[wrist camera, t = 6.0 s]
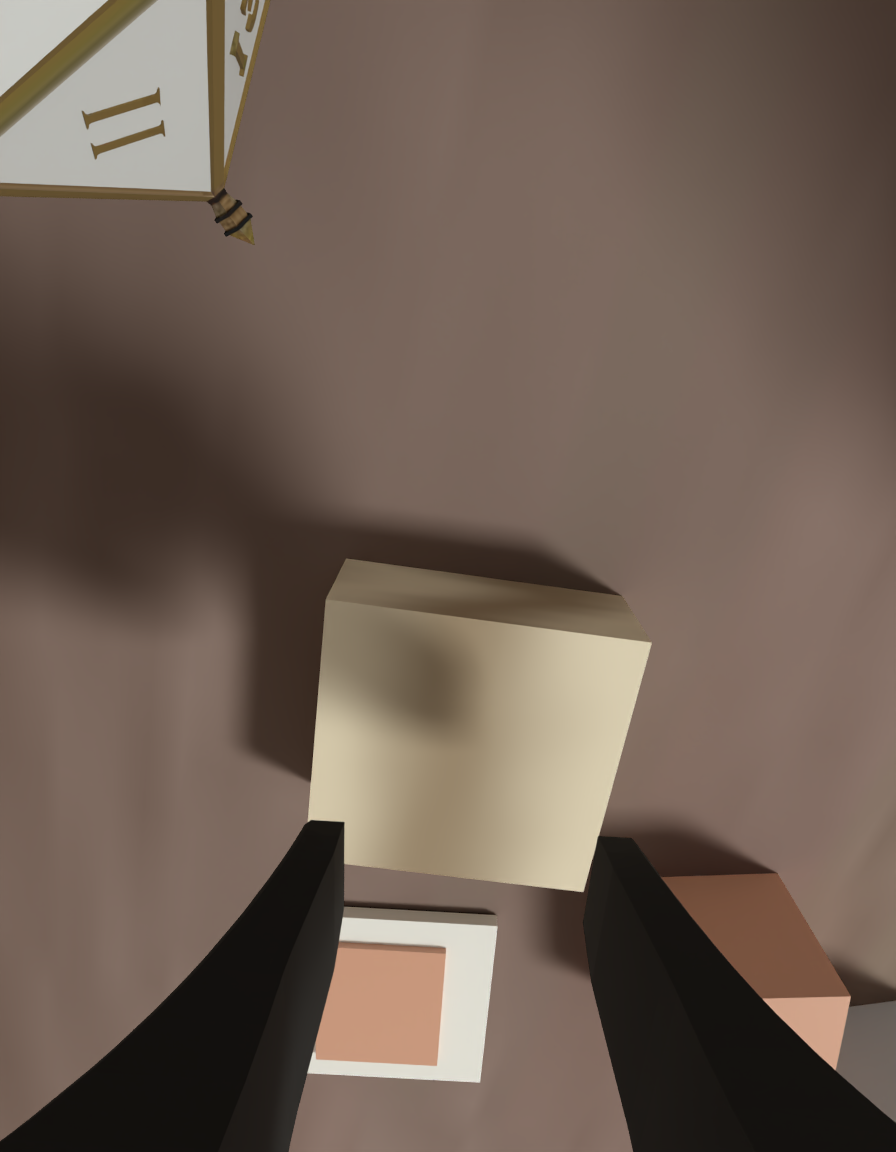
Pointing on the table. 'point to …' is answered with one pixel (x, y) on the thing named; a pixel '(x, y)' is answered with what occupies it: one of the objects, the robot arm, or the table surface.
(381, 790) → the maple block
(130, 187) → the game die
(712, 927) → the terracotta block
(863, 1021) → the grey block
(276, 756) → the table surface
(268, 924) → the robot arm
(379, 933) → the tile
